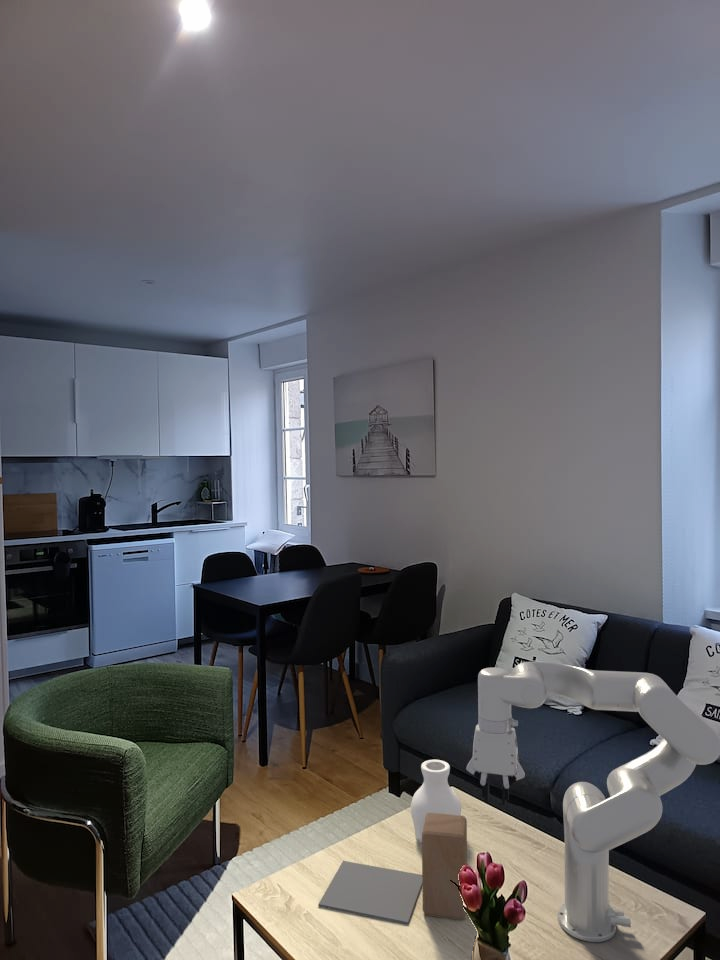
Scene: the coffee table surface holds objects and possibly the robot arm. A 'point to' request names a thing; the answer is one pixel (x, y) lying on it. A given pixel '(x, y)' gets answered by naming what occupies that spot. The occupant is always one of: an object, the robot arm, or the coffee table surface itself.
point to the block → (443, 864)
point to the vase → (433, 795)
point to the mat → (373, 892)
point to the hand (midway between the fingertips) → (495, 800)
